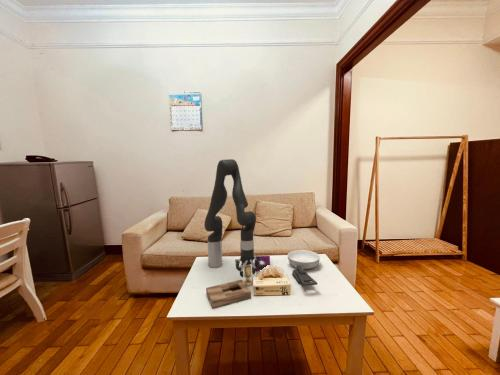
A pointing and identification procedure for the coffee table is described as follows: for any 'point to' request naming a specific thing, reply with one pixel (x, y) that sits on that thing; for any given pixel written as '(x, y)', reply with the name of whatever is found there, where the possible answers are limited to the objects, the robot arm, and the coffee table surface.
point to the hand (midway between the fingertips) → (247, 275)
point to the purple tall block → (267, 260)
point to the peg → (247, 275)
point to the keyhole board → (227, 293)
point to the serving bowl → (303, 258)
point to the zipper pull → (303, 277)
